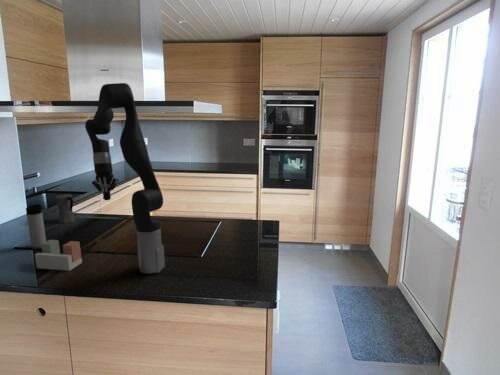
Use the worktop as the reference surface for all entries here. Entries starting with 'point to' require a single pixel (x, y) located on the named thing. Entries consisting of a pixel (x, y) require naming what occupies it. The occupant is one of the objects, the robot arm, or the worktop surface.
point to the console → (56, 261)
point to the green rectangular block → (51, 247)
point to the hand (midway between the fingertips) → (107, 200)
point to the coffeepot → (65, 208)
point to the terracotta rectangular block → (72, 250)
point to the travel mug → (36, 226)
